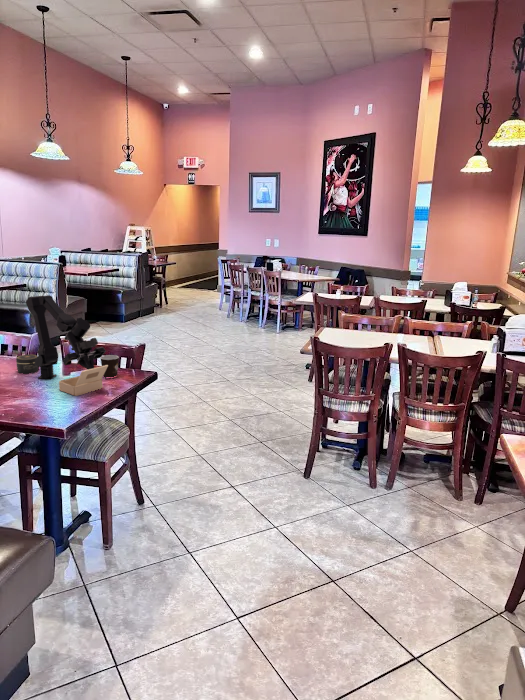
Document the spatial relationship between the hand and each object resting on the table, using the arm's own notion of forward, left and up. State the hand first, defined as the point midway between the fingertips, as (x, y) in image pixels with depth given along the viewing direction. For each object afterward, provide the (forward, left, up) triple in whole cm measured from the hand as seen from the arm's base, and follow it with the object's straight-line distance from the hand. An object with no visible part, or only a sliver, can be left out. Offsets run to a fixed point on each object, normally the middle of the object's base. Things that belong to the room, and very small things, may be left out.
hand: (93, 371), depth 218 cm
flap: (-2, -3, -6) cm, 7 cm away
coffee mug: (-27, 0, -10) cm, 29 cm away
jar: (-29, -43, -11) cm, 53 cm away
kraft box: (-5, -8, -10) cm, 14 cm away
